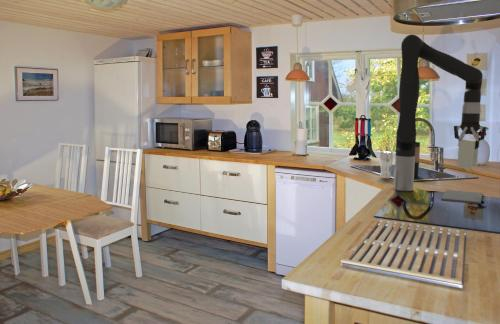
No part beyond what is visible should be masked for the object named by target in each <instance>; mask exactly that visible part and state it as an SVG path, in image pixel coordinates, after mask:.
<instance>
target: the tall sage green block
mask: <svg viewBox="0 0 500 324" xmlns="http://www.w3.org/2000/svg"><path fill="white" fill-rule="evenodd" d="M475 141H476V139H475V138H463V139H462V140H460V141H459V140H458V144H459V146H458V152H457V153H458V154H457V166H456V167H457V168H459V169H460V168H461V169H469V170H470V169H471V170H472V169H473V167H478V160H479V159H478V157H479V148H480V147H479V148H477V149H475Z"/></svg>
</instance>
